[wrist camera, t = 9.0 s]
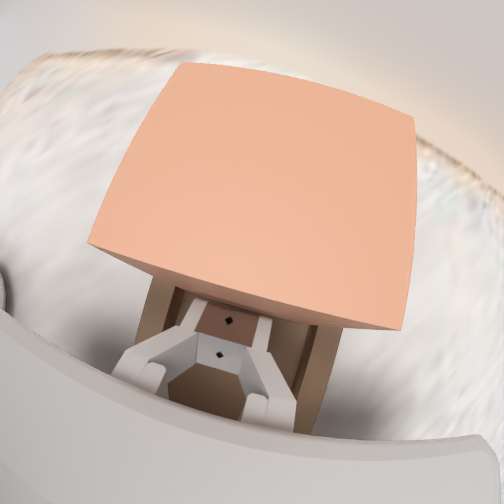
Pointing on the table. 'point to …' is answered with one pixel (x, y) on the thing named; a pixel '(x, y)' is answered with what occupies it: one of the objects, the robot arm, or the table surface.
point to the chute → (228, 384)
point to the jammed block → (269, 197)
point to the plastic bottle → (2, 293)
